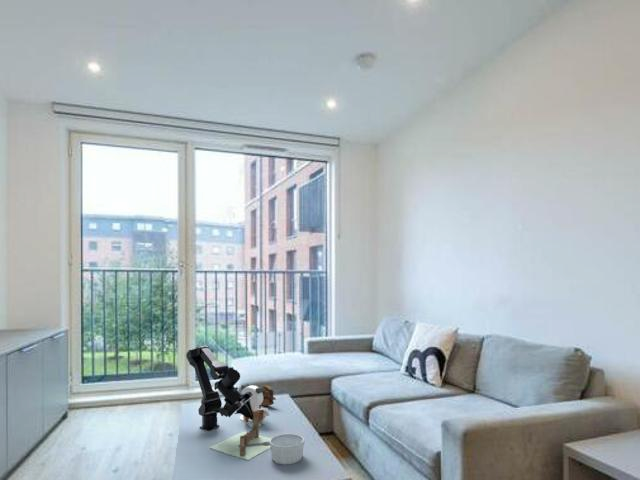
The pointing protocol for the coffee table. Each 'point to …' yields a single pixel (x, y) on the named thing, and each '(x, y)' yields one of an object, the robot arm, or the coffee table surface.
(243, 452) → the fence fixed panel
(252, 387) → the white rounded piece
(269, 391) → the wooden carving
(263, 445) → the card
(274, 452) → the ramekin
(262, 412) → the bull figurine
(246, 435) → the fence swing panel
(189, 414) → the coffee table surface
